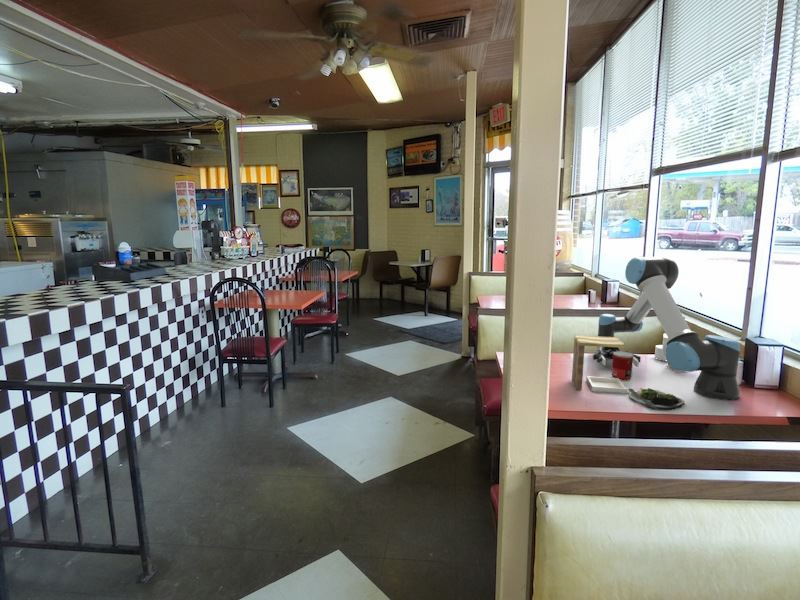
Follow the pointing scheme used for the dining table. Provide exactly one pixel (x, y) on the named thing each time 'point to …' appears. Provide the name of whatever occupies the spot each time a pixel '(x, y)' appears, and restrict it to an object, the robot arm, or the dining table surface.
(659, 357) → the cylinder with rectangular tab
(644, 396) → the salad plate
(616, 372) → the canned food
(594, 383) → the shallow square white tray
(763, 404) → the dining table surface
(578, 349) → the wooden l-shaped stand
